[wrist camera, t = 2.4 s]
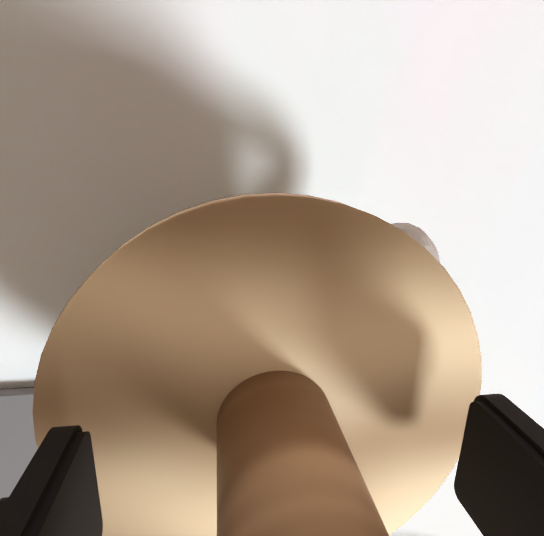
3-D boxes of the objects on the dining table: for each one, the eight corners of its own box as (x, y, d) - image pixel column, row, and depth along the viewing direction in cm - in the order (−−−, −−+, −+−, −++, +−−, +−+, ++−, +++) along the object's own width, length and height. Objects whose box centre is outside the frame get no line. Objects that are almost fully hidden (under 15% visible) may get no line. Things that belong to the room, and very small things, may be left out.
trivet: (-165, 399, 17) (-178, 407, 17) (132, 381, 19) (130, 388, 19) (-93, 602, 21) (-101, 614, 21) (151, 571, 23) (149, 581, 22)
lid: (8, 190, 9) (-442, 274, 3) (499, 195, 11) (882, 253, 4) (75, 580, 12) (-60, 994, 6) (434, 536, 14) (598, 827, 8)
